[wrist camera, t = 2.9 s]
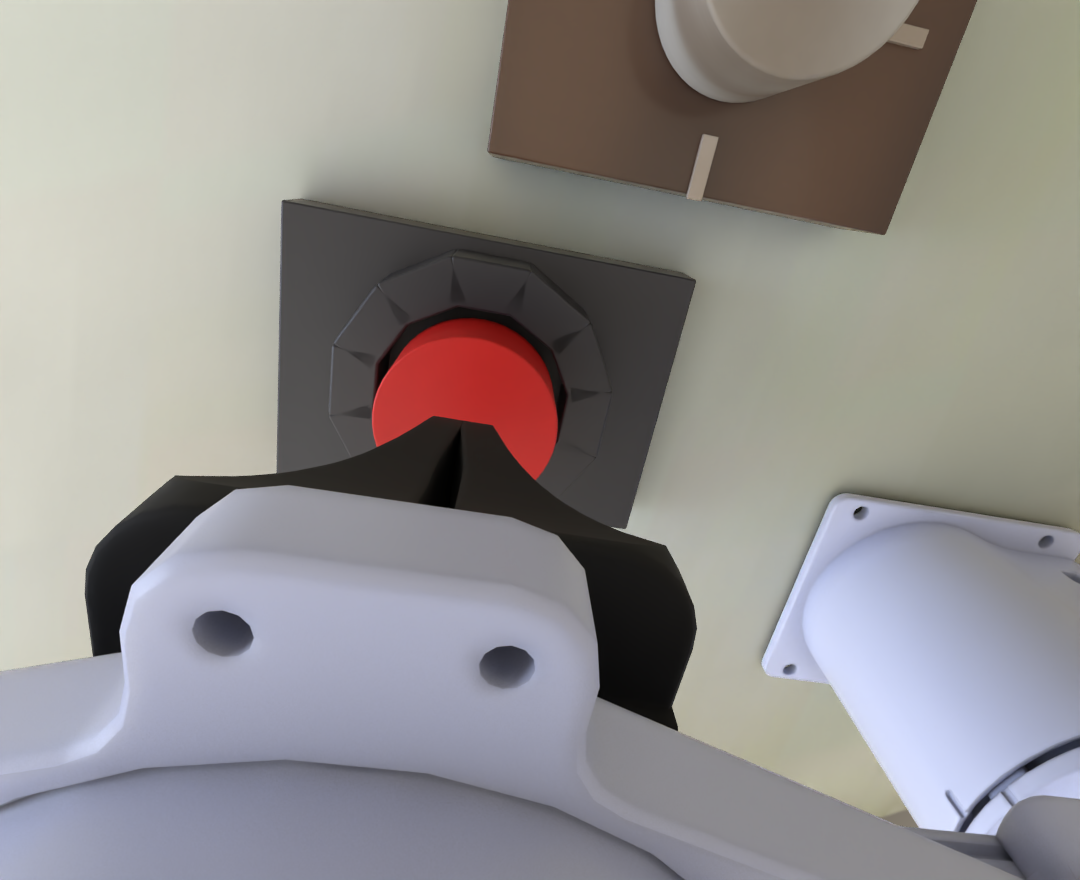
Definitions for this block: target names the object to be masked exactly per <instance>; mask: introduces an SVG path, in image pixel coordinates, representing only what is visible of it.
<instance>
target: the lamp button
mask: <svg viewBox="0 0 1080 880" xmlns="http://www.w3.org/2000/svg"><path fill="white" fill-rule="evenodd" d="M432 416H439V417H445V418H451V419H457V420H464V421H470V422H476V423H482V424H489V425H493V426H494V428H495V429H496V431H497V432H498V434H499V436H500V437H501V439H502V440H503V442H504V444H505V445H506V447H507V448H508V450H509V451H510V452H511V454H512V455H513V456H514V458H515V459H516V460H517V461H518V463H519V464H520V465H521V466H522V467H523V468H524V469H525V470H526V471H527V472H528V473H529V474H530V476H531V477H532V478H533V479H534V480H536V479H537V478H538V477H539V476H540V474H541V473H542V472H543V471H544V469H545V467H546V466H547V464H548V462H549V460H550V458H551V456H552V454H553V451H554V447H555V444H556V439H557V432H558V418H557V411H556V405H555V399H554V393H553V387H552V382H551V378H550V375H549V372H548V370H547V367H546V365H545V363H544V361H543V360H542V358H541V356H540V355H539V353H538V352H537V351H536V350H535V348H534V347H533V346H532V345H531V344H530V343H529V342H528V341H527V340H526V339H525V338H523V337H522V336H521V335H519V334H518V333H517V332H515V331H513V330H511V329H510V328H508V327H506V326H504V325H501V324H498V323H496V322H492V321H488V320H484V319H476V318H459V319H453V320H448V321H444V322H441V323H438V324H436V325H433V326H431V327H429V328H427V329H426V330H424V331H422V332H421V333H419V334H418V335H417V336H416V337H414V338H413V339H412V340H411V341H410V342H409V343H408V344H407V345H406V346H405V347H404V349H403V350H402V352H401V353H400V355H399V356H398V357H397V359H396V360H395V362H394V363H393V365H392V366H391V368H390V369H389V371H388V372H387V374H386V375H385V377H384V378H383V380H382V382H381V384H380V386H379V388H378V390H377V393H376V396H375V399H374V404H373V410H372V428H373V435H374V439H375V442H376V446H377V447H378V446H381V445H383V444H385V443H387V442H389V441H391V440H393V439H395V438H397V437H399V436H401V435H402V434H404V433H406V432H407V431H409V430H411V429H413V428H414V427H416V426H417V425H419V424H421V423H422V422H424V421H425V420H427V419H429V418H430V417H432Z"/></svg>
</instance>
